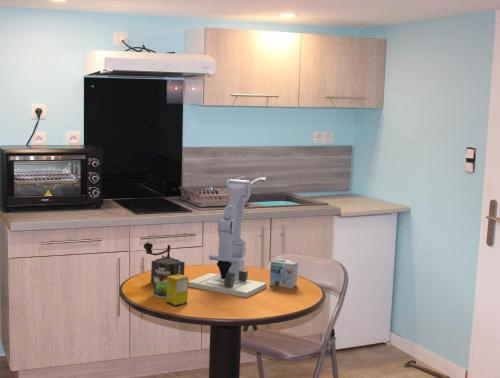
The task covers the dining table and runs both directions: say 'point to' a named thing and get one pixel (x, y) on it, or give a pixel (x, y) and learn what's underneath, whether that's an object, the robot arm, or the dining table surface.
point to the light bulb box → (283, 273)
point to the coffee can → (164, 275)
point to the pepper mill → (148, 248)
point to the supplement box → (177, 290)
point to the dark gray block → (230, 274)
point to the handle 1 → (228, 281)
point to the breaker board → (217, 285)
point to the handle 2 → (243, 275)
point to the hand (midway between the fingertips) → (223, 278)
